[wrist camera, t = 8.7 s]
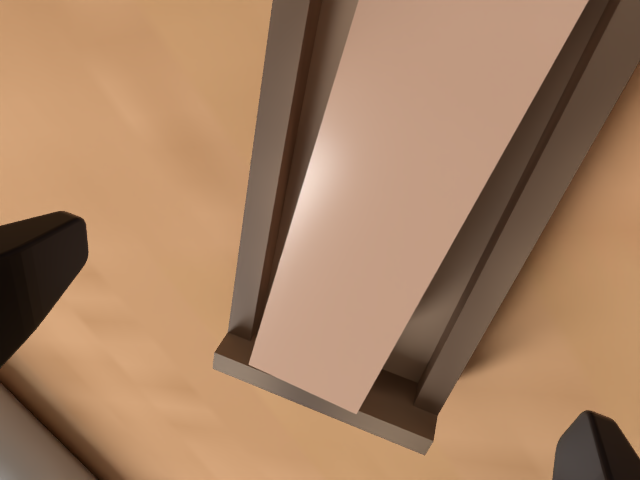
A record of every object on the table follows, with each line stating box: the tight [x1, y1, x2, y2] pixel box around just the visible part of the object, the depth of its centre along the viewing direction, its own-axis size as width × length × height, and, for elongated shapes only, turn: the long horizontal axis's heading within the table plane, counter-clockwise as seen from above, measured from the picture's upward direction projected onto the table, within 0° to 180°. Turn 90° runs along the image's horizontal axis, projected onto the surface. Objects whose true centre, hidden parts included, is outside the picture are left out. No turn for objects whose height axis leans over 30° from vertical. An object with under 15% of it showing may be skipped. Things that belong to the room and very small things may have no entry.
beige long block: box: [248, 0, 589, 414], centre depth 14 cm, size 4×16×4 cm, turn 164°
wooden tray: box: [213, 0, 640, 455], centre depth 16 cm, size 9×22×3 cm, turn 169°
